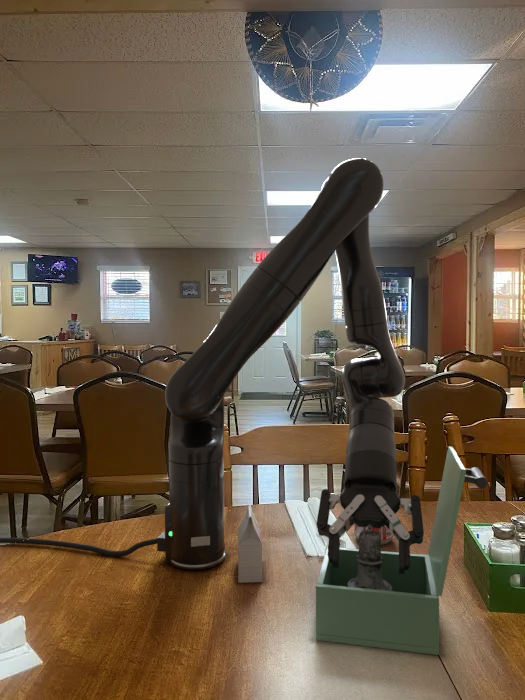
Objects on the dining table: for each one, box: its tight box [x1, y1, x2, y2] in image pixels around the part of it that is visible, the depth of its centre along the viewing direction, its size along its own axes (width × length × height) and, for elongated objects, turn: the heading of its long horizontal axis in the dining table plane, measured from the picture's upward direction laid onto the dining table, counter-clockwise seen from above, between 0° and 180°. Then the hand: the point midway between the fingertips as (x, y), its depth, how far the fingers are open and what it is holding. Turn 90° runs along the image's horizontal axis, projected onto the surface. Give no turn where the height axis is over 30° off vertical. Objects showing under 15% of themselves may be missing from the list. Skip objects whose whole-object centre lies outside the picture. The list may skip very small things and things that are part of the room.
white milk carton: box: [237, 503, 263, 584], centre depth 84 cm, size 4×7×10 cm, turn 2°
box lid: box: [427, 445, 489, 597], centre depth 67 cm, size 15×13×4 cm
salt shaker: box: [348, 524, 392, 591], centre depth 70 cm, size 6×6×12 cm
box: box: [315, 546, 440, 656], centre depth 70 cm, size 15×13×7 cm
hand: (368, 568), depth 69 cm, fingers open, 8 cm apart
